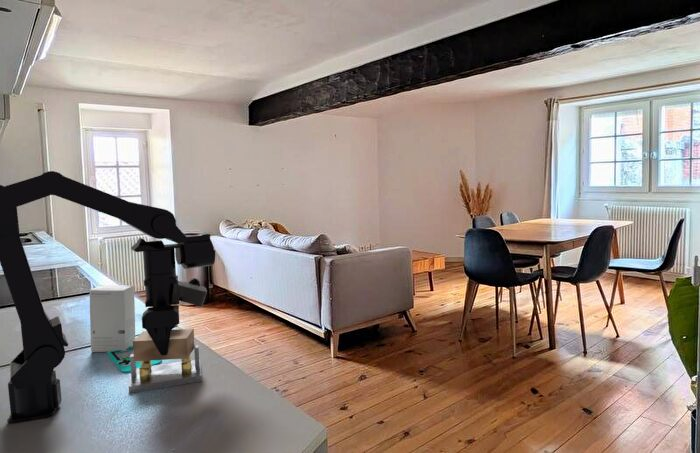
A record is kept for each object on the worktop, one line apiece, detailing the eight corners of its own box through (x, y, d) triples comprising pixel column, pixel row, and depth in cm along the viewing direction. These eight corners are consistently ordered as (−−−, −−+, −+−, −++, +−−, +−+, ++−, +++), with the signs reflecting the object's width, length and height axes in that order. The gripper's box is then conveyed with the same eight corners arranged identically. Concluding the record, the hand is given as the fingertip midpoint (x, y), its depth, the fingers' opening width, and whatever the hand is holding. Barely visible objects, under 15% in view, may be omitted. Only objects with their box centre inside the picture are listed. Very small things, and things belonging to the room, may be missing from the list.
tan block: (133, 361, 88) (132, 341, 88) (144, 350, 94) (143, 331, 94) (187, 358, 89) (186, 338, 89) (194, 347, 95) (193, 328, 95)
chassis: (128, 393, 86) (126, 364, 85) (133, 374, 94) (131, 347, 94) (201, 381, 90) (200, 353, 90) (199, 364, 99) (198, 339, 98)
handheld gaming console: (123, 370, 94) (106, 350, 106) (123, 375, 94) (106, 355, 106) (165, 360, 100) (144, 342, 111) (165, 364, 100) (145, 346, 111)
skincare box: (90, 353, 106) (85, 290, 105) (103, 343, 112) (99, 284, 111) (127, 351, 107) (123, 289, 105) (138, 342, 113) (134, 283, 111)
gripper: (205, 277, 84) (209, 359, 86) (201, 261, 101) (204, 329, 103) (139, 283, 80) (144, 369, 82) (146, 265, 98) (150, 336, 99)
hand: (164, 348), depth 91 cm, fingers closed on tan block, 7 cm apart
